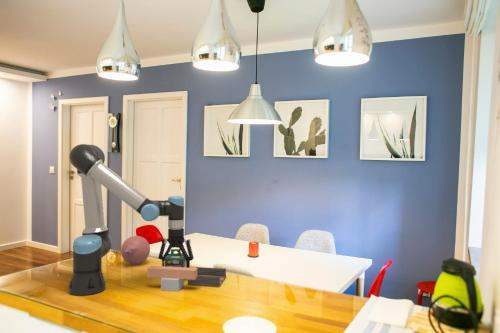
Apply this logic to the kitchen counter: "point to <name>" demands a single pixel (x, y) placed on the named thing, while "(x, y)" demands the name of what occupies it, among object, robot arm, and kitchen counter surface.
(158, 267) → the bar
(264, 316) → the kitchen counter surface
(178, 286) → the white and tan block
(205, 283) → the cradle
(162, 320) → the kitchen counter surface
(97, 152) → the robot arm
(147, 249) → the balloon
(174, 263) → the chalk box
